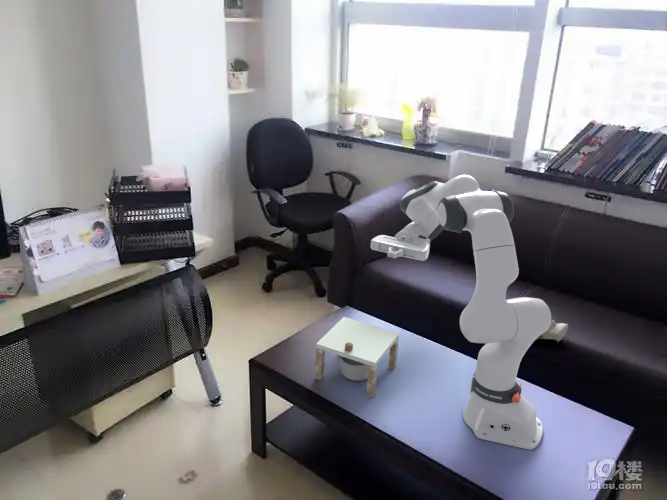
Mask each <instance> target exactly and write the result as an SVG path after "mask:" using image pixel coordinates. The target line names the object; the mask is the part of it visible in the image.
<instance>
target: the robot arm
mask: <svg viewBox="0 0 667 500" xmlns="http://www.w3.org/2000/svg"><path fill="white" fill-rule="evenodd" d="M399 204H400V205H399V206H400V210H401V211H402V212H403V213H404V214H405V215H406V216H407V217H408V218H409V219H411V221H412V222H410V223H408V224H407V225H406V226H404V228H402V229H401V230H400V231H398V232H397V233H396V234H395V235H394V236H389V235H386V234H380V235H377V236H375V237H373V238H372V239H371V240H370V249H371V250H372V251H376V252H381V253H386V254H387V257H388V258H392V259H396V258H400V257H402V258H403V257H404V258H408V259H412V260H414V261H415V260H417V261H419V262H420V261H421V262H425V261H427V259H428V257H429V254H430V248H431V241H433V240H434V239H436V238H437V237H438V236H439V235H440V234H441V233H442V232H443V231H444V230H445V231H449V232H454V233H458V234H462V233H463V231H468V232H469V233H470V234H471V241H472V242H471V243H472V244H471V245H472V250H473V257H474V264H475V272H476V273H475V275H476V283H475V289H474V292H473V295H472V298H471V300H470V301H469V303H468V304H467V305H466V307H464V309H463V311H462V312H461V314H460V315H459V327H460V328H459V329H460V331H461V333H462V334H463V336H464V338H465V339H467V341H468V342H470V343H475V344H484V345H483V346H482V347H481V349H480V350H479V351H478V356H477V360H476V361H477V362H476V366H475V371H474V373H473V375H472V378H471V384H470V395H469V399H468V400H467V404H466V406H465V407H464V408H463V411H462V418H463V421H464V422H465V425H467V426H468V427H469V428H470V429H471V430H472V431H473V433H474V436H475V437H477V438H478V439H480V440H484V441H489V442H493V443H496V444H497V443H498V444H502V445H506V446H511V447H515V448H521V449H525V450H533V449H536V448H537V447H538V446H539V445H540V443H541V441H542V439H543V434H544V426H543V422H542V421H541V419H540V418H539V417H537V412H536V411H537V410H536V407H535V406H534V405H533V404H532V403H531V402H530V401H529V400H527V399H526V397H524V396H523V395H522V387H523V383H522V382H520V384H518V382H517V381H516V380H517V375H518V371H519V368H520V363H521V361H522V359H523V357H524V356H525V354H526V352H527V351H528V349H529V348H530V347H531V346H532V344H534V342H535V341H536V340H537V339H536V338H537V337H539V336H540V335H541V334H542V333H544V332H545V331H547V330H548V328H549V326H550V323H551V319H552V312H551V310H550V307H549V306H548V304H547V303H546V302H545V301H544V300H543V299H541V298H535V297H528V296H523V297H522V296H521V297H512V298H507V296H506V294H507V290H508V287H509V286H510V285H511V284H512V283H514V282H515V281H516V279H518V276H519V275H520V274H519V273H520V272H519V271H520V269H519V264H518V263H519V261H518V258H517V257H518V256H517V252H516V245H515V241H514V240H515V239H514V235H513V232H512V228H511V225H510V223H511V221H512V220H513V219H514V214H515V207H514V202H513V199H512V198H511V197H510V195H508V194H507V193H506V192H504V191H498V190H495V189H492V188H489V189H488V190H482V189H481V188H480V184H479V182H478V181H477V179H476V178H475V177H473V176H471V175H469V174H460V175H456V176H455V177H452V178H450V179H449V180H448V181H446V182H444V183H443V182H439V181H436V180H434V181H431V182H428V183H425V184H424V185H422V186H420V187H418V188H414V189H411V190H408V192H406V193H405V194H404V195H403V196H402V197H401V200H400V203H399ZM506 298H507V299H506ZM535 339H536V340H535Z"/></svg>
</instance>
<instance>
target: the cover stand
mask: <svg viewBox="0 0 667 500" xmlns="http://www.w3.org/2000/svg"><path fill="white" fill-rule="evenodd" d="M399 338H400V337H399ZM399 338H398V339H397V340H396V342H395V343H394V344H393V345H392V347H391V348H390V349H389V355H388V364H387V365H388V367H387V369H389V370H393V371H395V370H396V368H397V362H398V361H397V360H398V349H399ZM325 353H326V351H324V350H321V349H318V348H315V371H314V374H315V376H314V378H315V379H317V380H318V381H321V380H322V379H323V378H324V376H325V374H324V373H325ZM378 366H379V363H378V364H377V365H376V367H373V366H370V365H369V370H368V378H367V385H366V386H367V387H366V397H367V398H369V399H372V400H373V399H374V397H375V396H376V389H377V377H378Z"/></svg>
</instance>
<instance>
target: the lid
mask: <svg viewBox="0 0 667 500" xmlns="http://www.w3.org/2000/svg"><path fill="white" fill-rule="evenodd" d="M398 338H400V332H397V331H393V330H389V329H386V328H383V327H379V326H376V325H372V324H371V323H365V322H363V321H359V320H356V319H352V318H349V317H345V316H343V317H342V318H340V320H339V321H338V322H337V323H336V324H335V325H334V326H332V328H331V329H329V331H328V332H326V333H325V334H324V335H323V337H321V338H320V339H319V340H318V341H317V342H316V344H315V347H316V348H318V349H321V350H324V351H325V352H328V353H331V354H334V355H337V356H339V357H340V356H343V357H346V358H349V359H352V360H355V361H358V362H361V363H364V364H367V365H370V366H373V367H376V365H377V364H378V365H379V363H380V362H381V360H382V359H383V358H384V357H385V355H386V354H387V353H388V352H389V351H390V348H391V347H392V345H393V344H394V343H395V342H396V340H397V339H398ZM316 348H315V349H316Z"/></svg>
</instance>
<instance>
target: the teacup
mask: <svg viewBox="0 0 667 500" xmlns="http://www.w3.org/2000/svg"><path fill="white" fill-rule="evenodd" d="M339 366H340V371H341V374H342V375H343V376H344V377H345V378H346V379H349V380H350V381H352V382H353V381H354V382H361V381H364V380H365V379H368V370H369V365H367V364H364V363H361V362H358V361H355V360H352V359H349V358H346V357H343V356H340V355H339Z"/></svg>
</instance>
